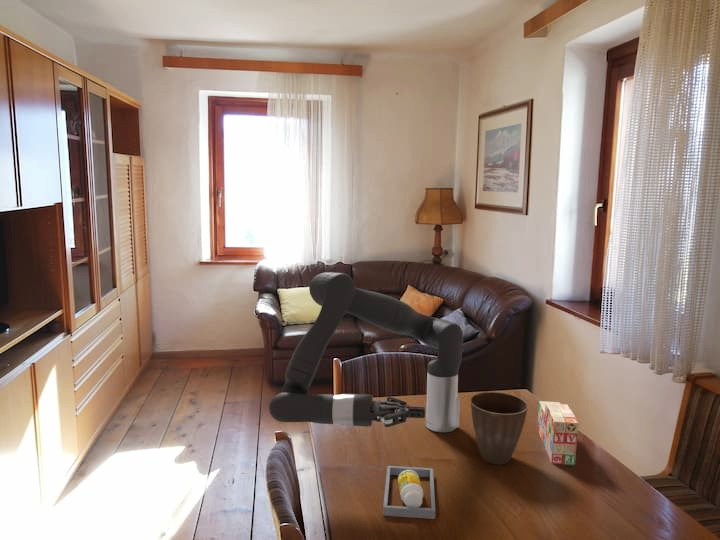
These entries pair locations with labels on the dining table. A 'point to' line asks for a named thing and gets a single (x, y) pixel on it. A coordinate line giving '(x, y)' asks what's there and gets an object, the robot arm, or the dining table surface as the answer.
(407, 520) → the dining table surface
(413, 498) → the supplement bottle
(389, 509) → the frame
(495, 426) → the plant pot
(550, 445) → the stack of blocks
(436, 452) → the dining table surface
